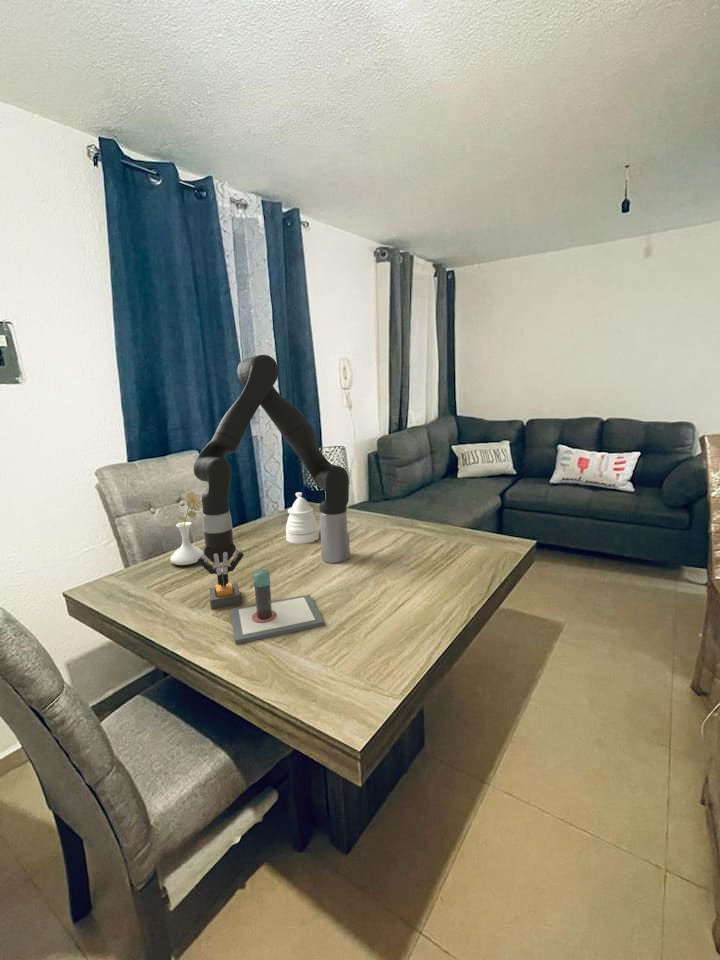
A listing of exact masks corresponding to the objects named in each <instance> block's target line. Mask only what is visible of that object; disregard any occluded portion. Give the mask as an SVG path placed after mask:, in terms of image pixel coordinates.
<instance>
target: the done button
mask: <svg viewBox="0 0 720 960" xmlns="http://www.w3.org/2000/svg"><path fill="white" fill-rule="evenodd" d="M232 584H233V583H232V582H228V584H226V586H224V584H223V587H221V585H219V584H215V587H216V594H217V597H218V596H224V595H229V594H233V589H232Z"/></svg>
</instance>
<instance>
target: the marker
mask: <svg viewBox="0 0 720 960" xmlns="http://www.w3.org/2000/svg"><path fill="white" fill-rule="evenodd" d="M252 575H253V585H254V593H255V594H254V595H255V604H256V608H257V618H258V619H261V620H265V619H268V618H270V617H271V616H272V607H271V601H272V596H271V595H272V594H271V578H270V571H269V570H268V569H258V570H256V571H254V572H253V573H252Z"/></svg>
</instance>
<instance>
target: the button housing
mask: <svg viewBox="0 0 720 960" xmlns="http://www.w3.org/2000/svg"><path fill="white" fill-rule="evenodd" d="M232 589H233V594H229V595H224V596H218V597H217V594H216V586H215V587H209V600H210V601H209V602H210V609H211V610H212V609H218V608H223V607H229V606H234V605H235V606H236V605H240V604H242V602H241V593H240V588H239V583H238V582H237V583H236V582H235V583H232Z"/></svg>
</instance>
